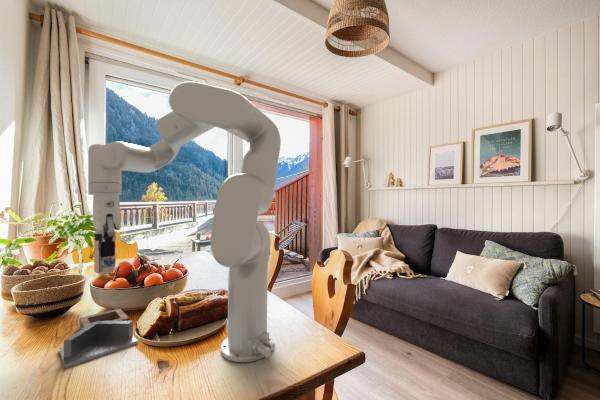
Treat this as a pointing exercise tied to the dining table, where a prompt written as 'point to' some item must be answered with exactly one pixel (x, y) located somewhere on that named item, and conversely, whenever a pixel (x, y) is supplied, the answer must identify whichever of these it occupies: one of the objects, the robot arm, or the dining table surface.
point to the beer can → (103, 263)
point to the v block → (97, 341)
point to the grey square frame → (103, 317)
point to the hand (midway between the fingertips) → (105, 254)
